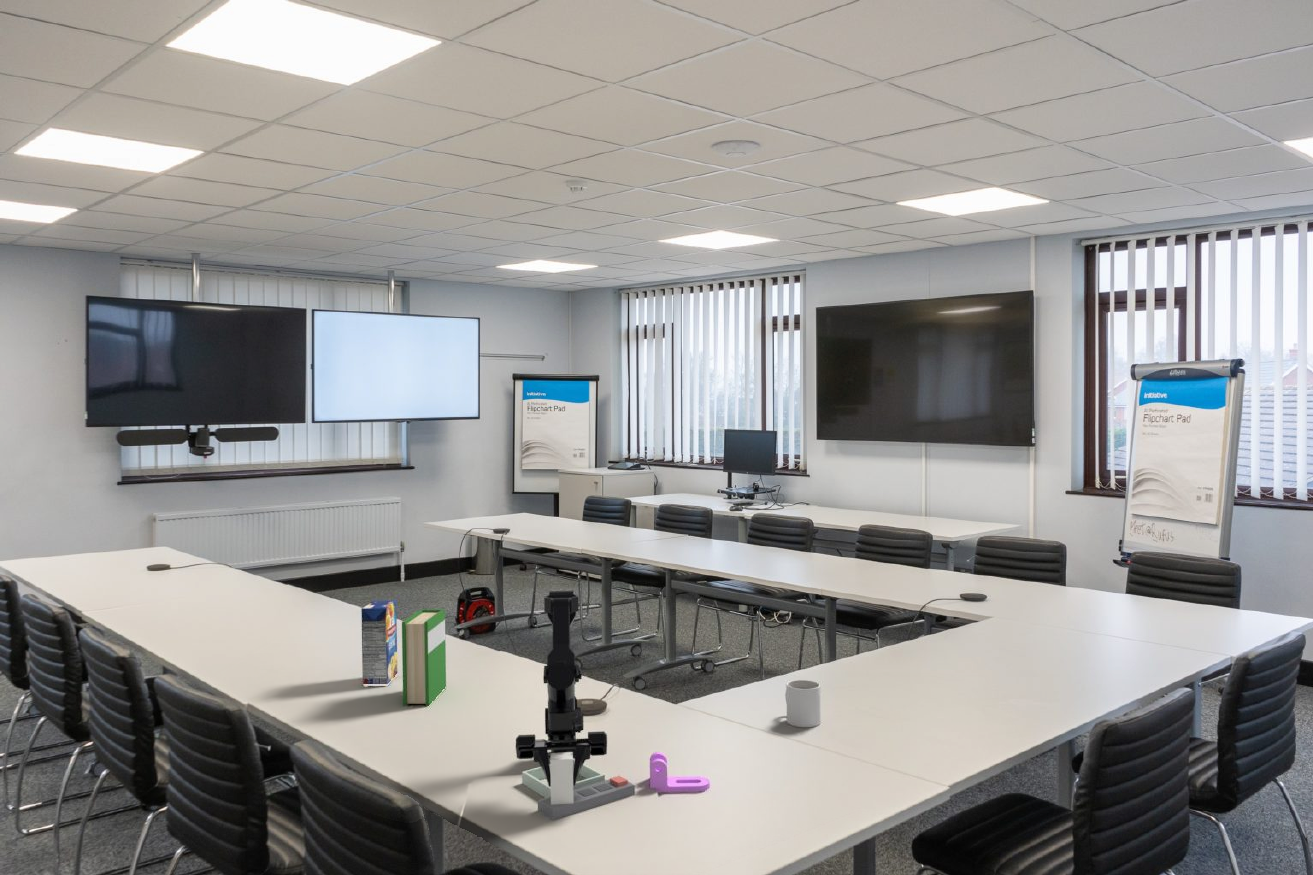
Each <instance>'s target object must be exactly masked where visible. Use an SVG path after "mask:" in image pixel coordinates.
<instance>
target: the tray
mask: <svg viewBox="0 0 1313 875" xmlns="http://www.w3.org/2000/svg"><path fill="white" fill-rule="evenodd" d="M574 763H575V758H574V759H573V771H574ZM549 767H550V763H549ZM550 775H551V773H550ZM578 776H581V777H583V778H585V779H582V780H579V781H578V780H577V781H576V784H575V785H574V786H573V790H575V789H578V788H581V787H585V786H588V785H592V784H595V783H598V782H602V781H605V780H606V775H605V774H603V773H601V772H600V771H598V770H597V769H594V768H593V767H590V766H588V765H587V764H585V763H584V764H583V766H582V768H581V770H580V772H579V775H578ZM543 779H546V777H545V774H544V771H543V769H542V767H541V766H539V767H536V768H535V767H534V768H531V769H527V770H524V771H521V781H522V782H521V784H523V785H524V786H526V787H528V788H529V789H530V790H532V791H534V792H536V793H537V794H538V795H540V796H542V797H543V798H548V797H551V787H549V785H548V783H545V782H544V781H542V780H543Z"/></svg>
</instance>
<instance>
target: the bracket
mask: <svg viewBox="0 0 1313 875" xmlns="http://www.w3.org/2000/svg"><path fill="white" fill-rule="evenodd" d="M667 761H668V760H667V756H666V754H664V752H661V751H655V752H653V753H652V754H651V755H650V758H649V788H650V789H656V791H657V792H656V793H658V792H670V793H699V792H698V791H703V792H706V791H708V790H709V789H710V788H711V784H710V783H711V782H710V779H709V778H707V777H705V776H698V775H697V776H689V775H688V776H668V762H667ZM707 789H708V790H707ZM705 790H706V791H705ZM658 794H659V793H658Z"/></svg>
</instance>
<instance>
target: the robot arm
mask: <svg viewBox="0 0 1313 875" xmlns="http://www.w3.org/2000/svg"><path fill="white" fill-rule="evenodd" d="M548 592H549V594H547V595H544V597H543V607H544V608H543V611H544V613H547V614H546V616H547V619H548V620H549V622H550V624H551V625H552V649H551V650H550V651H549V653H548V654H547V656H546V658H547V659H546V660H547V661H546V665H543V676H542V677H543V684H547V698H548V699H547V707H545V708H544V727H545V730H544V733H545V734H544V735H547V739H536V734H519V735H518V736H517V737H516V738H515V753H516V759H519V760H529V759H532V760H533V762H535V763H538V764H539V765H540V766H539V767H542V769H543V771H544V774H545V777H546V778H545V780H546V782H547V785H549V787H551V775H550V767H549V764H550V757H551V753H562V752H573V759H575V763H574V771H573V786H574V785H575V784H576V782H578V778H579V776H580V775H579V772H580V770H581V768H582V766H583V764H585V762H586V761H587V760H590V759H591V756H592V757H593V756H594V757H595V756H606V755H607V753H608V735H607V734H608V733H606V732H605V731H588V732H587V738H577V737H576V736H577V735H576V734H577V733H579V734H580V733H582V731H584V712H583V709H582V708H581V706H578V699H577V697H576V694H575V692H576V690H575V689H576V687H575V685H576V683H579V682H580V680H582V677H583V676H582V669H581V668H580V666H579V665H580V664H578V663H576V653H575V652H574V651H573V650H572V649H571V626H572V625H573V623H574V620H575V618H576V617H577V613H578V612H579V609H580V608H579V607H580V603H579V602H580V601H579V594H575V593H574V590H550V591H548Z"/></svg>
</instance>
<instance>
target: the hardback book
mask: <svg viewBox="0 0 1313 875" xmlns="http://www.w3.org/2000/svg"><path fill="white" fill-rule="evenodd" d="M446 645H447V644H446V609H445V608H444V609H441V608H440V609H419V610H418V611H416V612H414V613H413V614H412V615H410V616H409V617H407V618H405V619H404V620H402V621H401V648H402V649H401V651H402V653H401V654H402V655H401V656H402V706H406V707H407V705H408V704H409V705H410V704H417V705H418V704H425V707H426V706H429V705H430V704H431V703H432V701H434V700H435V699H436V697H437V696H438V695H439V694H440V693H441V692H442V690H443V689H445V687H446V688H447V661H446V660H447V656H446V654H447V653H446V652H447V651H446V648H447V647H446ZM445 690H446V689H445ZM442 693H443V692H442ZM436 700H437V699H436ZM436 700H435V701H436ZM435 701H434V702H435ZM432 704H433V703H432ZM432 704H431V705H432ZM409 705H408V706H409ZM431 705H430V706H431ZM430 706H429V707H430Z"/></svg>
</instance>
